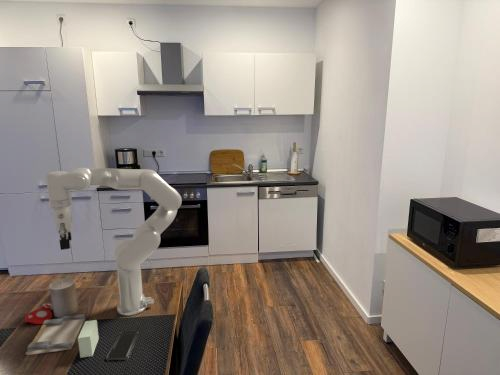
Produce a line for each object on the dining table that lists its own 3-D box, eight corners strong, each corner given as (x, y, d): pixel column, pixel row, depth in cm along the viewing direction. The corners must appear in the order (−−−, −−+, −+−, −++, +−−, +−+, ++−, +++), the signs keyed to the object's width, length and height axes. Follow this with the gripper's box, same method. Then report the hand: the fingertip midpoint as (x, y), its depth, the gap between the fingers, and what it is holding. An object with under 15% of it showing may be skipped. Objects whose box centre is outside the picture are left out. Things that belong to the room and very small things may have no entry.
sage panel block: (98, 338, 129) (96, 319, 128) (92, 356, 120) (90, 336, 118) (87, 339, 128) (85, 321, 127) (80, 357, 119) (77, 338, 117)
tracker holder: (53, 319, 140) (25, 321, 134) (52, 327, 141) (23, 330, 136) (53, 300, 149) (26, 301, 144) (51, 308, 151) (25, 310, 145)
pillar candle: (80, 303, 153) (75, 273, 150) (77, 315, 144) (73, 283, 141) (55, 308, 149) (50, 277, 146) (51, 320, 141) (46, 288, 137)
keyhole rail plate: (85, 319, 141) (84, 314, 141) (71, 349, 123) (70, 343, 123) (46, 323, 138) (45, 318, 138) (26, 355, 120) (25, 349, 120)
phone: (139, 331, 132) (127, 358, 117) (139, 334, 132) (127, 361, 117) (119, 332, 132) (104, 359, 117) (119, 334, 132) (104, 362, 117)
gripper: (70, 207, 124) (75, 250, 128) (73, 197, 139) (77, 236, 143) (47, 209, 121) (53, 254, 125) (52, 199, 136) (57, 239, 140)
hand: (66, 244), depth 134 cm, fingers open, 9 cm apart
